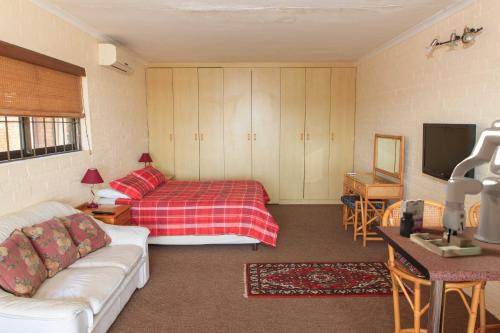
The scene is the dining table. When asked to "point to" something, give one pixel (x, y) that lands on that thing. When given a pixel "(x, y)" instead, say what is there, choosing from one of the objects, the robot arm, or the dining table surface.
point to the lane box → (434, 245)
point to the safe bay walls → (466, 249)
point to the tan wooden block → (460, 241)
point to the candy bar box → (414, 210)
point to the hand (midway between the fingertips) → (451, 242)
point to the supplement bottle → (407, 224)
